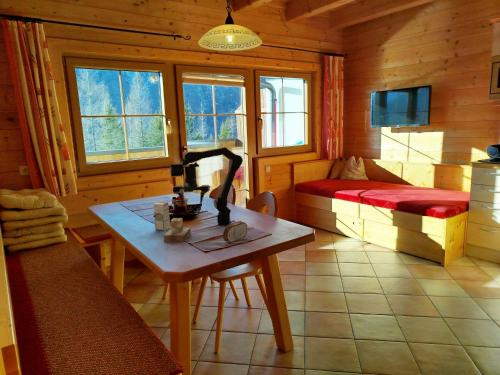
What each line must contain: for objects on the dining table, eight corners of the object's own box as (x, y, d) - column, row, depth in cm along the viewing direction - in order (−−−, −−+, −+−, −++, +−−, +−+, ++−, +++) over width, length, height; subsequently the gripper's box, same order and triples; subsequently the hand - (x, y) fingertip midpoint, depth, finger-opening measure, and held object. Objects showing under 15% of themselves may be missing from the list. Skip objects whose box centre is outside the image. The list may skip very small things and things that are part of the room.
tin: (243, 235, 169) (243, 218, 167) (248, 236, 167) (248, 219, 165) (222, 243, 158) (221, 226, 156) (227, 245, 156) (227, 227, 154)
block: (183, 229, 169) (182, 218, 168) (180, 232, 165) (180, 220, 164) (174, 229, 170) (173, 218, 168) (171, 232, 165) (170, 220, 164)
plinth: (190, 233, 173) (190, 227, 173) (185, 241, 162) (184, 235, 161) (171, 234, 174) (170, 227, 173) (164, 241, 162) (163, 235, 162)
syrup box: (170, 227, 185) (168, 201, 182) (164, 230, 179) (162, 203, 177) (161, 226, 187) (159, 201, 184) (155, 230, 181) (153, 203, 179)
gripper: (168, 178, 173) (171, 208, 175) (205, 177, 172) (207, 207, 175) (174, 175, 184) (176, 203, 186) (209, 174, 183) (210, 202, 185)
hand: (192, 204), depth 183 cm, fingers open, 9 cm apart
